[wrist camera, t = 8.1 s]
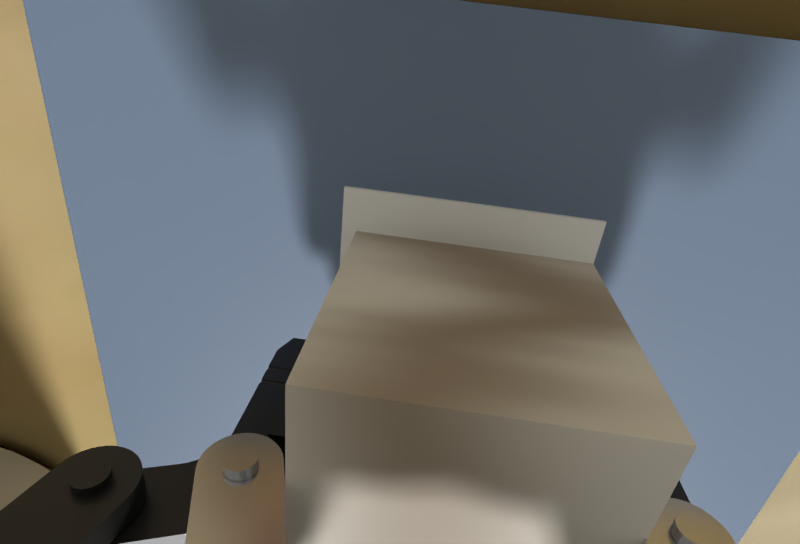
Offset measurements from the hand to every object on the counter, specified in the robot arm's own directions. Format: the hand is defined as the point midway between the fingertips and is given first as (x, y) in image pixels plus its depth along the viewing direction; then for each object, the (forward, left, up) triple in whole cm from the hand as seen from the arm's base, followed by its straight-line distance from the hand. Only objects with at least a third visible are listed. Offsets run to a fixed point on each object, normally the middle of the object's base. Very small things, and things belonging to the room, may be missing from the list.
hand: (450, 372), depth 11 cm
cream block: (0, 0, -1) cm, 1 cm away
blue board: (0, 0, -3) cm, 3 cm away
